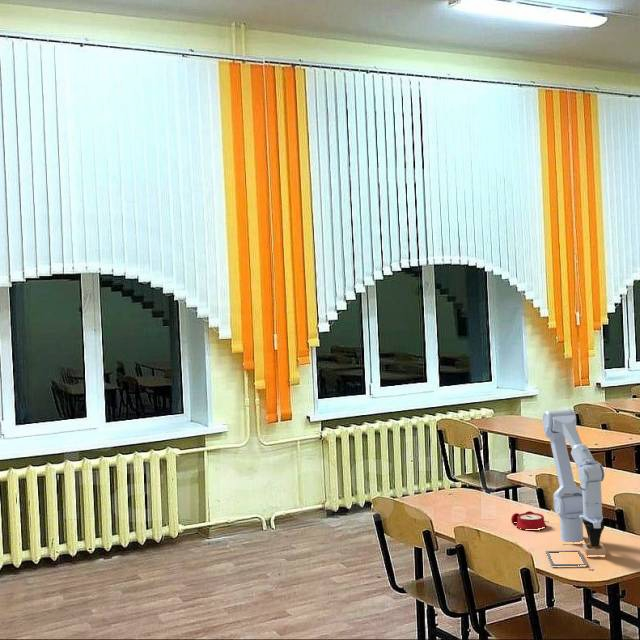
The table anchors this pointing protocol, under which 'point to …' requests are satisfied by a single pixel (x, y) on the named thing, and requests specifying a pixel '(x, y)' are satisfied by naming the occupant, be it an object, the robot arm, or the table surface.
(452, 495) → the table surface
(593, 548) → the dowel
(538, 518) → the alarm clock
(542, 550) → the table surface
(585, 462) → the robot arm
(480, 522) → the table surface
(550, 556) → the grey rectangular frame
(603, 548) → the wooden block with hole
